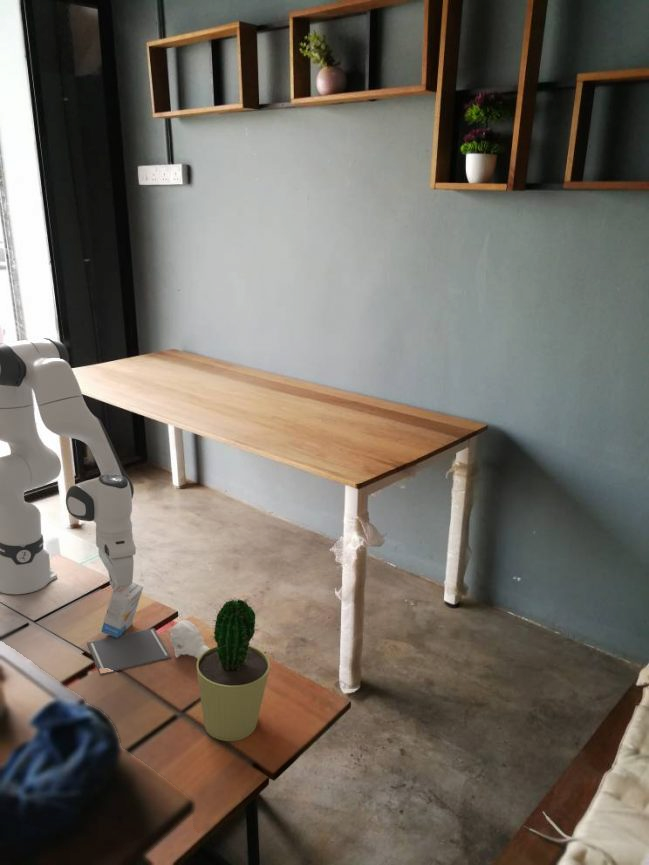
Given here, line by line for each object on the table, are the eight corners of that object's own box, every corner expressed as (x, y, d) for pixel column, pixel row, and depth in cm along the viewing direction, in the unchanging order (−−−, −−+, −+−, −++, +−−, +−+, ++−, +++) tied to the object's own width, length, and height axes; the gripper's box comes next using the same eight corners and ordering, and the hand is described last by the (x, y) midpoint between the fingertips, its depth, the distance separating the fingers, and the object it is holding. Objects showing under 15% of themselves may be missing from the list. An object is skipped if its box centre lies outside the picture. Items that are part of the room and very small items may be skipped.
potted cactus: (227, 760, 139) (234, 628, 131) (179, 722, 148) (182, 597, 140) (281, 723, 150) (290, 600, 142) (233, 691, 160) (238, 573, 152)
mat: (87, 643, 173) (87, 642, 173) (154, 629, 182) (154, 627, 182) (100, 674, 162) (100, 673, 161) (171, 657, 170) (171, 656, 170)
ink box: (118, 639, 175) (132, 589, 171) (100, 632, 176) (114, 581, 172) (132, 624, 183) (147, 576, 180) (115, 617, 184) (129, 568, 180)
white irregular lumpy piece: (187, 613, 174) (222, 635, 168) (184, 641, 177) (218, 664, 171) (168, 622, 169) (203, 646, 163) (165, 651, 172) (199, 675, 166)
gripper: (91, 524, 182) (92, 571, 186) (111, 555, 165) (112, 607, 169) (116, 520, 185) (116, 567, 189) (137, 551, 168) (137, 602, 172)
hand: (114, 586), depth 179 cm, fingers closed
